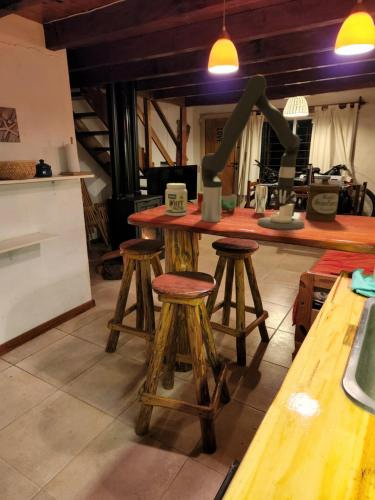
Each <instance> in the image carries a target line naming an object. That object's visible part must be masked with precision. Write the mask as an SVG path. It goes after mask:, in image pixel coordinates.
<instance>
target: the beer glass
mask: <svg viewBox="0 0 375 500" xmlns="http://www.w3.org/2000/svg"><path fill="white" fill-rule="evenodd" d="M254 198H255V199H254V200H255V201H254V202H255V209H254V213H255V214H265V213H266V203H267V200H268V186H267V185H256V186H255V192H254Z"/></svg>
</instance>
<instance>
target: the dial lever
mask: <svg viewBox="0 0 375 500" xmlns="http://www.w3.org/2000/svg"><path fill="white" fill-rule="evenodd" d="M295 208H296V203H287V204H286V205H284V206H281V207H280V209H279V211H278V213H273V214H270V217H271V218H270V221H272V222H277V223H290V222H291V221H292V218H293V217H294V215H295Z"/></svg>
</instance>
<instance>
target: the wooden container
mask: <svg viewBox="0 0 375 500" xmlns="http://www.w3.org/2000/svg"><path fill="white" fill-rule="evenodd" d="M329 180H330V178H329V177H328V176H323V177H322V178H321V181H319V182H315V183H314V182H313V183H309V187H308V195H307V203H306V211H305V219H306V220H310V221H313V222H314V221H315V222H326V223H328V222H334V221H335V220H336V215H337V209H338V203H339V195H340V186H341V185H340V184H338V183H330V182H329Z"/></svg>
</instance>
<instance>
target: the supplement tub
mask: <svg viewBox="0 0 375 500" xmlns="http://www.w3.org/2000/svg"><path fill="white" fill-rule="evenodd" d="M186 187H187V186H186V183H180V182H177V183H175V182H172V183H171V182H169V183H167V184H166V189H165V193H164V195H165V196H164V198H165V207H164V208H165V214H166V215H167V216H171V217H183V216H185V215H187V214H188V190H187V188H186Z"/></svg>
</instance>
